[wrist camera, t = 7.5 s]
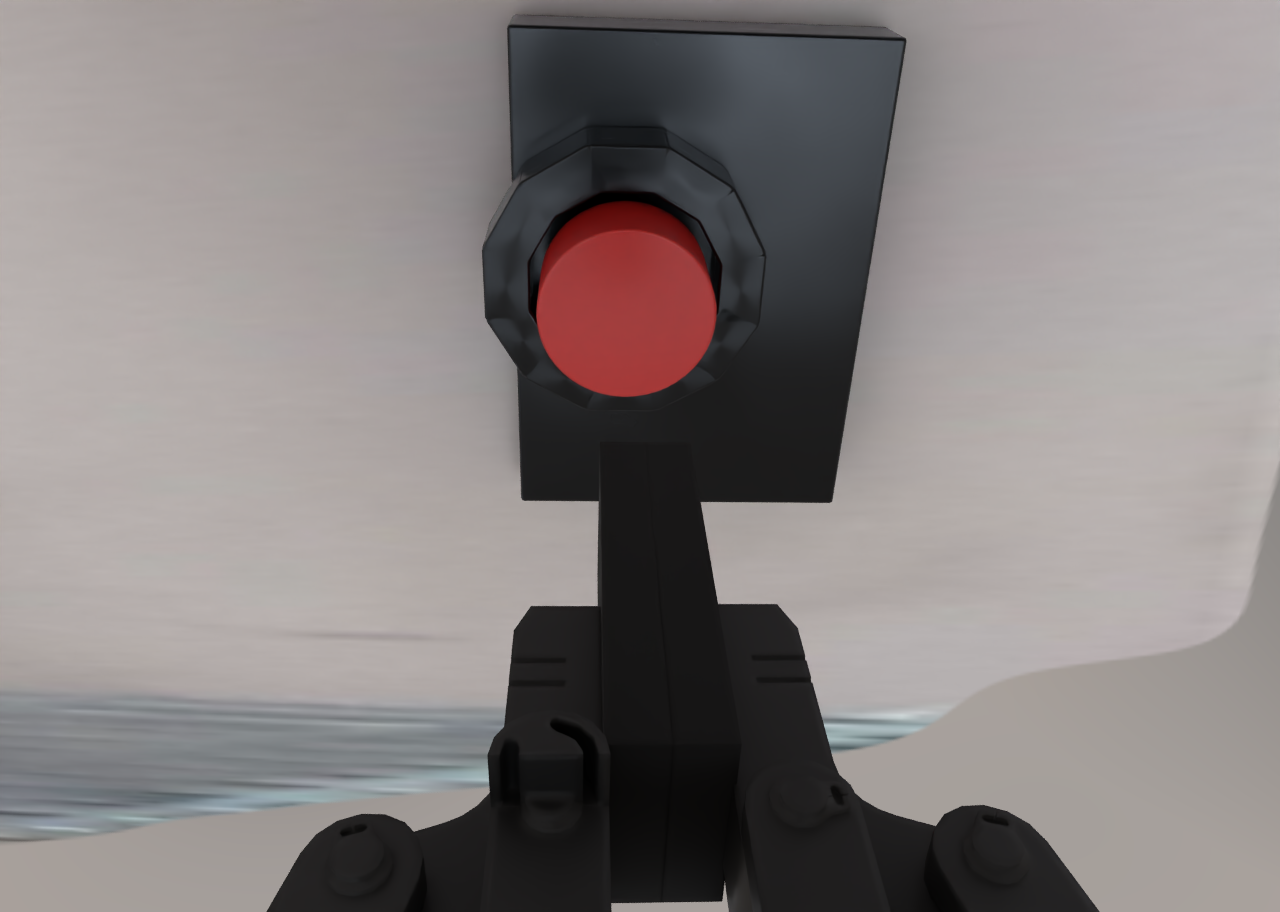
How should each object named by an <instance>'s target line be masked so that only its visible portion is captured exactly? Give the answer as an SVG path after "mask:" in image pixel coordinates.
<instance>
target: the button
mask: <svg viewBox="0 0 1280 912" xmlns="http://www.w3.org/2000/svg"><path fill="white" fill-rule="evenodd" d="M716 313H717V306H716V299H715V294H714V290H713V287H712V283H711V280H710V276H709V273H708V269H707V266H706V262H705V259H704V255H703V253H702V250H701V248H700V246H699V244H698V242H697V240H696V239H695V237H694V235H693V234H692V233H691V232H690V231H689V229H688V228H687V227H686V226H685V225H684V224H683V223H682V222H681V221H680V220H678V219H677V218H676V217H674V216H673V215H671V214H670V213H668V212H666V211H664V210H662V209H661V208H658V207H655V206H653V205H650V204H646V203H642V202H636V201H613V202H608V203H603V204H600V205H596V206H593V207H591V208H589V209H587V210H584V211H582V212H581V213H579V214H578V215H576V216H575V217H573V218H572V219H571V220H569V221H568V222H567V223H566V224H565V225H564V226H563V227H562V228H561V229H560V230H559V231H558V232H557V234H556V235H555V237H554V238H553V240H552V241H551V243H550V245H549V247H548V249H547V251H546V253H545V256H544V259H543V263H542V268H541V274H540V283H539V291H538V299H537V311H536V317H537V327H538V331H539V335H540V338H541V341H542V344H543V346H544V348H545V350H546V352H547V354H548V355H549V357H550V358H551V360H552V361H553V362H554V364H555V365H556V366H557V367H558V368H559V369H560V370H561V371H562V372H563V373H564V374H565V375H566V376H567V377H569V378H570V379H571V380H573V381H574V382H576V383H578V384H579V385H581V386H583V387H585V388H587V389H589V390H592V391H595V392H598V393H601V394H605V395H611V396H620V397H631V396H640V395H647V394H650V393H654V392H657V391H660V390H662V389H664V388H667V387H669V386H670V385H672V384H674V383H676V382H677V381H679V380H680V379H681V378H683V377H684V376H686V375H687V374H688V373H689V372H690V371H691V370H692V369H693V368H694V367H695V366H696V365H697V363H698V362H699V361H700V360H701V359H702V357H703V355H704V354H705V352H706V350H707V349H708V346H709V344H710V342H711V340H712V337H713V333H714V330H715V324H716Z"/></svg>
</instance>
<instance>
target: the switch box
mask: <svg viewBox="0 0 1280 912" xmlns="http://www.w3.org/2000/svg"><path fill="white" fill-rule="evenodd" d="M507 37H508V70H509V104H510V137H511V171H512V184H511V186H510V187H509V189H508V191H507V193H506V195H505V196H504V198H503V200H502V202H501V204H500V205H499V207H498V209H497V211H496V212H495V214H494V216H493V218H492V220H491V221H490V223H489V227H488V230H487V234H486V237H485V241H484V244H483V249H482V260H483V282H484V303H485V318H486V319H487V322H488V324H489V325H490V327H491V328H492V330H493V331H494V333H495V334H496V336H497V337H498V339H499V340H500V342H501V343H502V345H503V346H504V348H505V349H506V351H507V353H508V354H509V356H510V357H511V359H512V360H513V362H514V363H515V365H516V366H517V373H518V406H519V440H520V473H521V498H522V500H524V501H599V465H600V442H678V443H690V444H691V450H692V456H693V461H694V467H695V473H696V479H697V485H698V491H699V497H700V502H794V503H830V502H832V499H833V493H834V487H835V481H836V475H837V468H838V462H839V456H840V450H841V444H842V437H843V431H844V425H845V419H846V413H847V407H848V400H849V394H850V388H851V382H852V376H853V369H854V363H855V357H856V351H857V345H858V338H859V332H860V326H861V320H862V314H863V307H864V301H865V295H866V289H867V283H868V276H869V270H870V264H871V258H872V252H873V246H874V239H875V233H876V227H877V221H878V215H879V208H880V202H881V196H882V190H883V184H884V177H885V171H886V165H887V159H888V153H889V146H890V140H891V134H892V128H893V122H894V116H895V109H896V103H897V97H898V91H899V85H900V78H901V72H902V66H903V60H904V54H905V47H906V38H904V37H902V36H901V35H899V34H897V33H895V32H893V31H892V30H890V29H888V28H886V27H871V26H841V25H811V24H782V23H752V22H722V21H692V20H663V19H633V18H603V17H574V16H544V15H514V16H513V17H512V19H511V21H510V23H509V25H508V28H507ZM613 201H636V202H642V203H646V204H650V205H653V206H655V207H658V208H661V209H662V210H664V211H666V212H668V213H670V214H671V215H673V216H674V217H676V218H677V219H678V220H680V221H681V222H682V223H683V224H684V225H685V226H686V227H687V228H688V229H689V231H690V232H691V233H692V234H693V235H694V237H695V239H696V240H697V242H698V244H699V246H700V248H701V250H702V253H703V255H704V259H705V262H706V266H707V269H708V273H709V276H710V280H711V283H712V287H713V290H714V294H715V299H716V306H717V313H716V324H715V330H714V333H713V337H712V340H711V342H710V344H709V346H708V349H707V350H706V352H705V354H704V355H703V357H702V359H701V360H700V361H699V362H698V363H697V365H696V366H695V367H694V368H693V369H692V370H691V371H690V372H689V373H688V374H687V375H686V376H684V377H683V378H681V379H680V380H679V381H677V382H676V383H674V384H672V385H670V386H669V387H667V388H664V389H662V390H660V391H657V392H654V393H650V394H647V395H640V396H631V397H620V396H611V395H605V394H601V393H598V392H595V391H592V390H589V389H587V388H585V387H583V386H581V385H579V384H578V383H576V382H574V381H573V380H571V379H570V378H569V377H567V376H566V375H565V374H564V373H563V372H562V371H561V370H560V369H559V368H558V367H557V366H556V365H555V364H554V362H553V361H552V360H551V358H550V357H549V355H548V354H547V352H546V350H545V348H544V346H543V344H542V341H541V338H540V335H539V331H538V327H537V317H536V311H537V299H538V291H539V283H540V274H541V268H542V263H543V259H544V256H545V253H546V251H547V249H548V247H549V245H550V243H551V241H552V240H553V238H554V237H555V235H556V234H557V232H558V231H559V230H560V229H561V228H562V227H563V226H564V225H565V224H566V223H567V222H568V221H569V220H571V219H572V218H573V217H575V216H576V215H578V214H579V213H581V212H582V211H584V210H587V209H589V208H591V207H593V206H596V205H600V204H603V203H608V202H613Z"/></svg>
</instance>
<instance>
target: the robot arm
mask: <svg viewBox="0 0 1280 912" xmlns="http://www.w3.org/2000/svg"><path fill="white" fill-rule="evenodd" d="M488 770H489V786H490V793H489V794H488V795H487V796H486V797H485V798H484V799H483V800H482V801H481V802H480V804H479V805H477V806H476V807H475V808H473V809H472V810H470V811H469V812H467V813H465V814H464V815H462V816H460V817H458V818H455V819H453V820H450V821H448V822H445V823H442V824H439V825H436V826H432V827H429V828H425V829H422V830H419V831H415V832H413V831H412V830H411V828H410V827H409V826H407V824H406V823H405V822H403V821H400V820H398V819H395V818H393V817H390V816H387V815H383V814H360V815H356V816H353V817H349V818H346V819H343V820H339V821H336V822H335V823H333V824H332V825H330V826H329V827H327V828H325V829H324V830H323V831H321V832H319V833H318V834H316V835H315V837H314V838H313V839H312V840H311V841H310V842H309V844H308V845H307V846H306V847H305V848H304V850H303V851H302V852H301V853H300V855H299V857H298V858H297V860H296V862H295V863H294V865H293V867H292V869H291V870H290V872H289V874H288V876H287V877H286V879H285V881H284V882H283V884H282V886H281V888H280V889H279V891H278V893H277V895H276V896H275V898H274V900H273V902H272V903H271V905H270V907H269V909H268V910H267V912H611V903H646V902H647V903H652V902H714V901H715V902H716V901H722V899H723V891H724V883H725V885H726V893H727V900H728V908H729V912H1099V910H1098V909H1097V908H1096V907H1095V905H1094V904H1093V902H1092V901H1091V900H1090V898H1089V897H1088V896H1087V894H1086V893H1085V892H1084V890H1083V889H1082V888H1081V886H1080V885H1079V884H1078V882H1077V881H1076V880H1075V878H1074V877H1073V876H1072V874H1071V873H1070V872H1069V870H1068V869H1067V867H1066V866H1065V865H1064V863H1063V862H1062V861H1061V860H1060V858H1059V857H1058V855H1057V854H1056V853H1055V851H1054V850H1053V849H1052V848H1051V846H1050V845H1049V843H1048V842H1047V841H1046V840H1045V839H1044V838H1043V837H1042V836H1041V835H1040V834H1039V833H1038V832H1037V831H1036V830H1035V829H1034V828H1033V827H1032V826H1031V825H1030V824H1029V823H1027V822H1025V821H1023V820H1022V819H1020V818H1018V817H1016V816H1015V815H1013V814H1011V813H1009V812H1007V811H1004V810H1000V809H996V808H993V807H989V806H985V805H975V806H961V807H959V808H957V809H955V810H953V811H950V812H948V813H946V814H944V816H943V817H942V818H941V820H940V821H939V823H938V824H937V825H936V826H933V825H930V824H926V823H922V822H918V821H914V820H911V819H907V818H903V817H900V816H896V815H893V814H891V813H888V812H885V811H882V810H880V809H877V808H876V807H874V806H872V805H871V804H869V803H867V802H866V801H864V800H862V799H861V798H860V797H859V796H858V795H856V794H855V793H854V790H853V789H852V787H851V785H850V784H849V783H848V782H847V781H846V780H844V779H843V778H842V777H841V776H840V775H839V773H838V771H837V768H836V766H835V764H834V761H833V757H832V754H831V750H830V746H829V742H828V739H827V735H826V731H825V728H824V724H823V720H822V717H821V713H820V709H819V705H818V702H817V698H816V694H815V691H814V687H813V683H811V676H810V672H809V668H808V665H807V661H805V654H804V650H803V646H802V642H801V639H800V635H799V631H798V628H797V627H796V626H795V625H794V623H793V622H792V621H791V620H790V619H789V618H788V616H787V615H786V614H785V613H784V612H783V611H782V610H781V608H780V607H779V606H778V605H777V604H718V602H717V596H716V590H715V584H714V578H713V573H712V567H711V561H710V555H709V549H708V543H707V537H706V532H705V526H704V520H703V514H702V508H701V502H700V497H699V491H698V485H697V479H696V473H695V467H694V461H693V456H692V450H691V444H690V443H678V442H600V465H599V521H598V606H531V607H530V609H529V610H528V611H527V613H526V614H525V616H524V617H523V618H522V620H521V621H520V623H519V624H518V625H517V627H516V628H515V630H514V635H513V645H512V655H511V665H510V675H509V686H508V695H507V705H506V714H505V724H504V728H503V729H502V730H501V731H500V732H499V733H498V734H497V735H496V736H495V737H494V739H493V742H492V744H491V747H490V750H489V753H488Z"/></svg>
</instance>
